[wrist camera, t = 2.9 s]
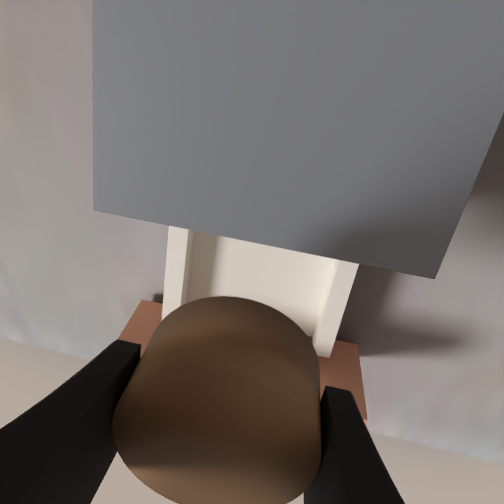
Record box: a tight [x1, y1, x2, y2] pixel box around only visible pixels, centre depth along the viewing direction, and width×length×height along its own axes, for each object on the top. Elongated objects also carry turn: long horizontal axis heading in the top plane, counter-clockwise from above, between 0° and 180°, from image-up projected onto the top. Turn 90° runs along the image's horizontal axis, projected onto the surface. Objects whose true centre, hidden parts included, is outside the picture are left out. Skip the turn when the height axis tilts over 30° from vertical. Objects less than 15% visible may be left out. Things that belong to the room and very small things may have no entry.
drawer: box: [118, 226, 367, 425], centre depth 19 cm, size 11×10×5 cm
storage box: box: [93, 0, 504, 279], centre depth 15 cm, size 11×10×6 cm
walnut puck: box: [112, 296, 321, 504], centre depth 11 cm, size 5×5×2 cm
